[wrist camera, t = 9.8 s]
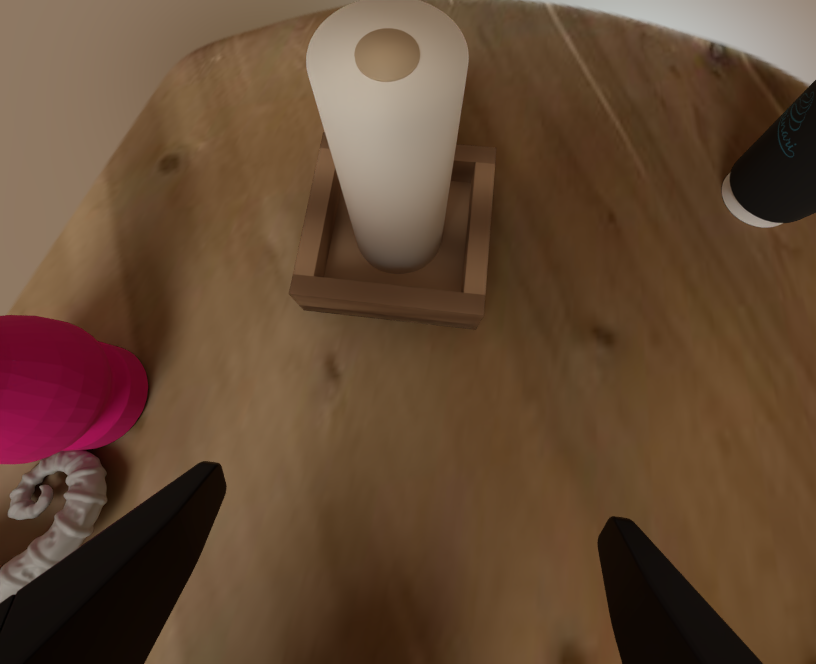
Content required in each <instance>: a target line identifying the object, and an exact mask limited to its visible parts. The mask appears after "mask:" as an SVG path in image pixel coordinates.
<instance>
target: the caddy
mask: <svg viewBox="0 0 816 664" xmlns="http://www.w3.org/2000/svg"><path fill="white" fill-rule="evenodd" d="M495 161H496V148H494V147H483V146H472V145H461V144H456V149H455V155H454V162H453V168H452V175H451V182H450V188H449V195H448V201H447V208H446V214H445V221H444V228H443V234H442V241H441V245H440V248H439V250H438V252H437V254H436V256H435V257H434V258H433V259H432V260H431V261H430V262H429V263H428V264H427V265H426V266H424V267H423V268H421V269H419V270H417V271H414V272H411V273H406V274H391V273H386V272H383V271H381V270H379V269H377V268H375V267H373V266H372V265H371V264H370V263H368V262H367V261H366V259H365V258H364V257H363V255H362V254H361V252H360V250H359V247H358V244H357V240H356V237H355V234H354V230H353V227H352V223H351V220H350V217H349V213H348V210H347V206H346V203H345V199H344V196H343V193H342V189H341V186H340V182H339V179H338V175H337V172H336V169H335V165H334V162H333V158H332V155H331V151H330V148H329V145H328V141H327V138H326V134H325V132H323V136H322V141H321V145H320V150H319V155H318V159H317V164H316V169H315V173H314V178H313V183H312V187H311V192H310V197H309V201H308V206H307V211H306V216H305V220H304V225H303V230H302V234H301V239H300V244H299V248H298V253H297V258H296V262H295V267H294V272H293V276H292V281H291V286H290V291H289V294H290V296H291V297H292V298H293V299H294V300H295V301H296V302H297V303H298V304H299V305H300V306H301V307H302V309H303V310H308V311H317V312H325V313H334V314H343V315H352V316H361V317H370V318H379V319H387V320H396V321H405V322H414V323H423V324H432V325H441V326H450V327H458V328H467V329H476V328H477V326H478V324H479V323H480V321H481V319H482V318H483V316H484V307H485V293H486V280H487V267H488V254H489V240H490V227H491V214H492V201H493V188H494V174H495Z"/></svg>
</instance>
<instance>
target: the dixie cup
mask: <svg viewBox="0 0 816 664" xmlns="http://www.w3.org/2000/svg"><path fill="white" fill-rule="evenodd" d="M722 197H723V200H724V202H725V204H726V206H727V208H728V209H729V210H730V212H731V213H732V214H733V215H735V216H736V217H737V218H738V219H740V220H741V221H743V222H745V223H747V224H750V225H753V226H757V227H774V226H778V225H780V224H782V223H789V222H794V221H797V220H800V219H802V218H804V217H807V216H809V215H811V214H814V213H816V80H815V81H814V82H813V83H812V84H811V85H810V86H809V87H808V88H807V89H806V90H805V91H804V92H803V93H802V95H801V96H800V97H799V98H798V99H797V100H796V101H795V102H794V103H793V104H792V105H791V106H790V107H789V108H788V109H787V110H786V111H785V112H784V113H783V114H782V115H781V116H780V117H779V118H778V119H777V120H776V121H775V122H774V123H773V124H772V125H771V126H770V127H769V129H768V130H767V131H766V132H765V133H764V134H763V135H762V136H761V137H760V138H759V139H758V140H757V141H756V142H755V143H754V144H753V145H752V146H751V147H750V148H749V149H748V150H747V151H746V152H745V153H744V154H743V155H742V156H741V157H740V158H739V159H738V160H737V161H736V163H735V164H734V166H733V167H732V169H731V172H730V173H729V174H728V175H727V177H726V178H725V180H724V182H723V184H722Z"/></svg>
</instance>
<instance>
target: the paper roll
mask: <svg viewBox="0 0 816 664" xmlns="http://www.w3.org/2000/svg"><path fill="white" fill-rule="evenodd" d="M468 61H469V54H468V47H467V43H466V40H465V38H464V36H463V33H462V32H461V30H460V29H459V27H458V26H457V25H456V23H455V22H454V21H453V20H452V19H451V18H450V17H449V16H448V15H446V14H445V13H444V12H442V11H441V10H439V9H438V8H436V7H434V6H432V5H430V4H428V3H425V2H423V1H420V0H359V1H356V2H353V3H351V4H349V5H346V6H344V7H342V8H341V9H339V10H337V11H336V12H334V13H333V14H332V15H330V16H329V17H328V18H327V19H326V20H325V21H324V22H323V23H322V24H321V25H320V26H319V27H318V29H317V30H316V31H315V33H314V35H313V37H312V38H311V41H310V43H309V46H308V50H307V55H306V66H307V73H308V76H309V79H310V83H311V86H312V90H313V93H314V97H315V100H316V103H317V107H318V110H319V114H320V117H321V121H322V124H323V127H324V131H325V134H326V138H327V141H328V145H329V148H330V151H331V155H332V158H333V162H334V165H335V169H336V172H337V175H338V179H339V182H340V186H341V189H342V193H343V196H344V199H345V203H346V206H347V210H348V213H349V217H350V220H351V223H352V227H353V230H354V234H355V237H356V240H357V244H358V247H359V250H360V252H361V254H362V255H363V257H364V258H365V259H366V261H367V262H368V263H370V264H371V265H372V266H373V267H375V268H377V269H379V270H381V271H383V272H386V273H391V274H406V273H411V272H414V271H417V270H419V269H421V268H423V267H424V266H426V265H427V264H428V263H429V262H430V261H431V260H432V259H433V258H434V257H435V256H436V254H437V252H438V250H439V248H440V245H441V241H442V234H443V228H444V221H445V214H446V208H447V201H448V195H449V188H450V182H451V175H452V168H453V162H454V155H455V149H456V142H457V136H458V129H459V122H460V116H461V109H462V103H463V96H464V90H465V83H466V76H467V70H468Z"/></svg>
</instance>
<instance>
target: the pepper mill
mask: <svg viewBox="0 0 816 664" xmlns="http://www.w3.org/2000/svg"><path fill="white" fill-rule="evenodd" d="M147 393H148V381H147V375H146V371H145V369H144V367H143V365H142V364H141V362H140V361H139V360H138V358H137V357H136V356H135V355H134V354H132V353H131V352H129V351H128V350H126V349H123V348H120V347H117V346H114V345H110V344H106V343H103V342H99V341H97V340H96V339H95V338H94V337H93V336H92V335H90V334H89V333H87V332H86V331H84V330H83V329H81V328H79V327H77V326H75V325H73V324H70V323H68V322H63V321H59V320H54V319H49V318H44V317H38V316H22V315H6V316H0V464H22V463H29V462H33V461H37V460H40V459H44V458H47V457H50V456H52V455H54V454H56V453H58V452H60V451H70V450H87V449H95V448H99V447H103V446H105V445H107V444H110V443H112V442H114V441H115V440H117V439H118V438H120V437H121V436H123V435H124V434H125V433H126V432H127V431H128V430H129V429H130V428H131V427H132V426H133V425H134V424H135V423H136V421H137V419H138V418H139V416H140V415H141V413H142V411H143V409H144V406H145V403H146V400H147Z"/></svg>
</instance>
